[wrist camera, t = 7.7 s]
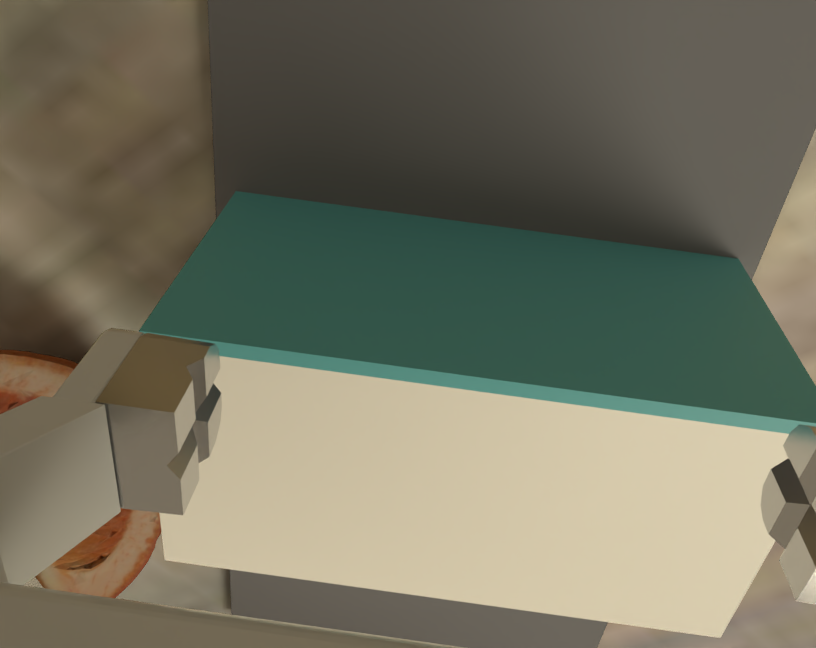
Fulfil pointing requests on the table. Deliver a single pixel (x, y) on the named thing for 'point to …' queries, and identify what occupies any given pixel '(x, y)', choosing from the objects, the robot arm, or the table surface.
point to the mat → (511, 164)
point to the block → (483, 413)
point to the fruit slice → (114, 541)
